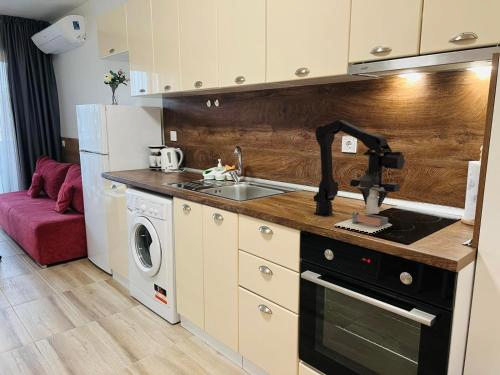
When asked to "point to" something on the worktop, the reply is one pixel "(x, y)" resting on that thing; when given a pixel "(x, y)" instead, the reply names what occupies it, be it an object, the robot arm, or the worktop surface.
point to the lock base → (365, 224)
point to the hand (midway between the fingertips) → (372, 205)
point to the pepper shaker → (372, 202)
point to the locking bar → (365, 219)
